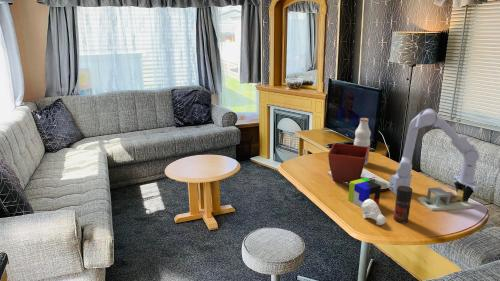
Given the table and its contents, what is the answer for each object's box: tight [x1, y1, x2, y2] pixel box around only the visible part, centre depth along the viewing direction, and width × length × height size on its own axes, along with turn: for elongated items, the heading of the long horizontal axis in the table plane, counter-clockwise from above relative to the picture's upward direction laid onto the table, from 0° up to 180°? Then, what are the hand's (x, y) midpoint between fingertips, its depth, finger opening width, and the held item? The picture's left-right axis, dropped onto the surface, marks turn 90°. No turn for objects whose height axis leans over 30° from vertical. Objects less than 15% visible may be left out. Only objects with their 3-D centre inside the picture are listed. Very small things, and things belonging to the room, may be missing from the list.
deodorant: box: [393, 186, 413, 224], centre depth 161 cm, size 6×6×15 cm
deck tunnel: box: [417, 186, 474, 212], centre depth 176 cm, size 21×11×7 cm, turn 99°
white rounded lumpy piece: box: [360, 199, 387, 226], centre depth 161 cm, size 6×8×12 cm
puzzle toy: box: [347, 177, 382, 209], centre depth 177 cm, size 10×10×10 cm
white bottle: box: [353, 117, 372, 166], centre depth 224 cm, size 9×9×28 cm
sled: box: [440, 189, 468, 203], centre depth 177 cm, size 12×4×5 cm, turn 99°
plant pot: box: [327, 143, 370, 184], centre depth 203 cm, size 19×19×17 cm
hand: (462, 198), depth 178 cm, fingers closed on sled, 4 cm apart
